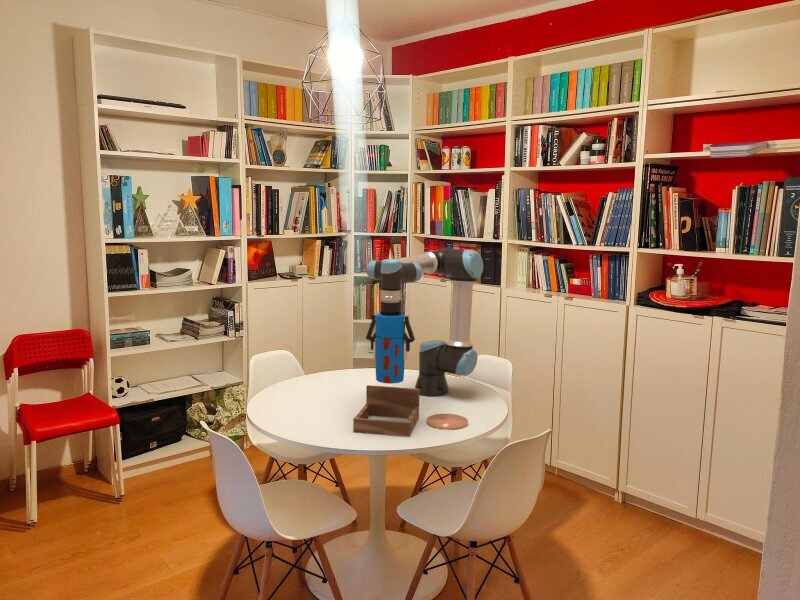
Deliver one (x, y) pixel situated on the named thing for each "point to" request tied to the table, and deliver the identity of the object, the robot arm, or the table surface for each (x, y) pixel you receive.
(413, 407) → the frame
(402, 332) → the thermos
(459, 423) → the terracotta disc
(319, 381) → the table surface
